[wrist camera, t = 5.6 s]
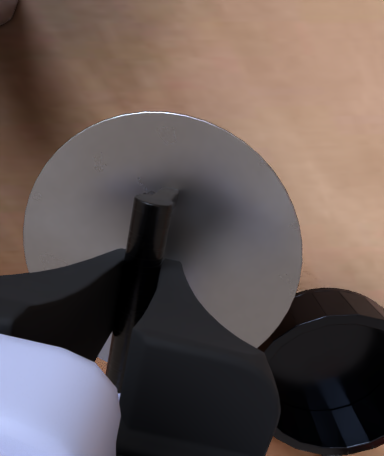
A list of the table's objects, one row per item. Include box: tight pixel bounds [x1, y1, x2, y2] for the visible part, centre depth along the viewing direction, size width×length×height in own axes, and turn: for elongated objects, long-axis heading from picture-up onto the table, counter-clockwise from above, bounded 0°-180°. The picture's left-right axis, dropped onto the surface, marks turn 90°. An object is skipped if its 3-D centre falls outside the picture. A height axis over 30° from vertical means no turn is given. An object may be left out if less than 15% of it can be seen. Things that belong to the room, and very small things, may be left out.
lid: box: [23, 111, 302, 393], centre depth 12 cm, size 12×12×5 cm
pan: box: [257, 288, 384, 455], centre depth 21 cm, size 11×11×3 cm
